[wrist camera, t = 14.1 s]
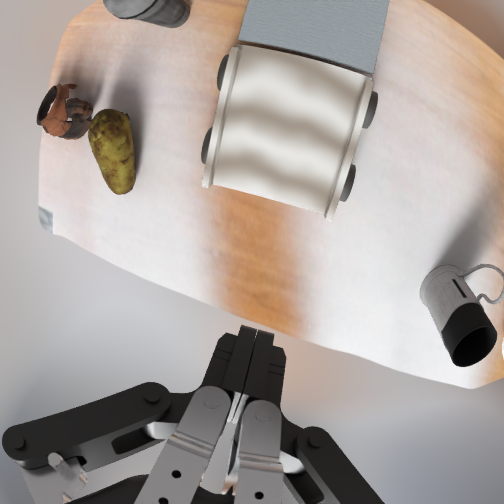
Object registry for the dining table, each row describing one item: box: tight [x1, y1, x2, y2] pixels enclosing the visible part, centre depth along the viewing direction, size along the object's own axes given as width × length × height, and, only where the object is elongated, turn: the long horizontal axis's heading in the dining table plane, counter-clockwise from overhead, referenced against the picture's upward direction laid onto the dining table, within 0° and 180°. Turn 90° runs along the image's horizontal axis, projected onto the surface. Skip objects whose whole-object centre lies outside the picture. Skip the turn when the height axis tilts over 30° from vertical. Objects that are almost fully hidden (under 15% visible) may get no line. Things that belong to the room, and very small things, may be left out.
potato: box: [88, 109, 136, 195], centre depth 38 cm, size 8×13×8 cm, turn 158°
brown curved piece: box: [37, 84, 93, 140], centre depth 37 cm, size 12×10×8 cm
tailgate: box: [238, 0, 389, 75], centre depth 26 cm, size 2×16×14 cm
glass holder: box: [420, 264, 504, 367], centre depth 35 cm, size 9×14×15 cm, turn 166°
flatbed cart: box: [201, 44, 378, 222], centre depth 34 cm, size 18×19×7 cm
